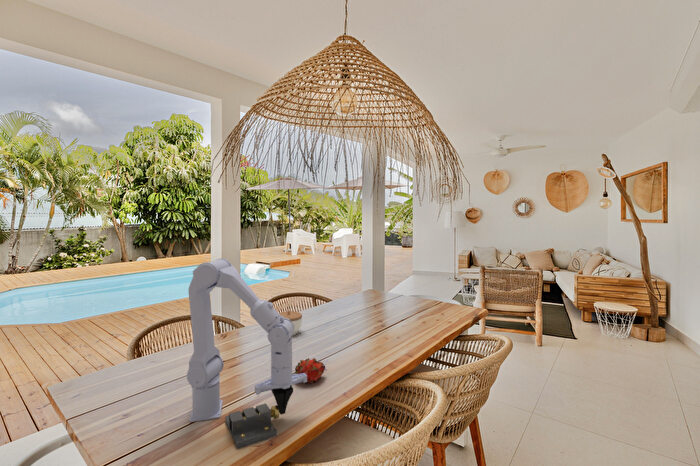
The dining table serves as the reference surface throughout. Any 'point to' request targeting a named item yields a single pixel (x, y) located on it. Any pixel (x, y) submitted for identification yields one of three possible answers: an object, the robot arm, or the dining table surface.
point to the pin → (272, 412)
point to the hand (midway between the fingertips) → (281, 412)
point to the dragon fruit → (310, 369)
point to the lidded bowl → (293, 319)
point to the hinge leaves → (250, 425)
